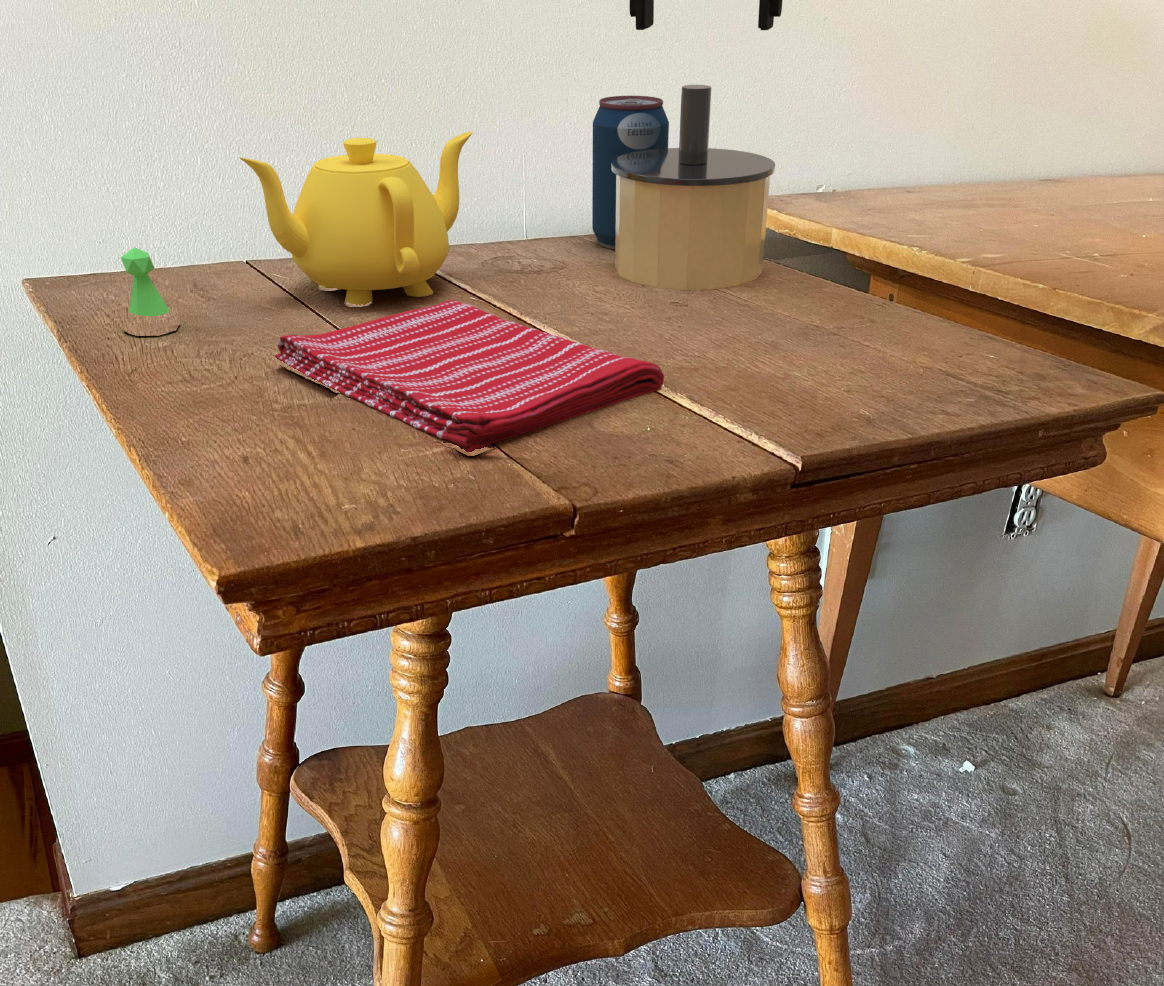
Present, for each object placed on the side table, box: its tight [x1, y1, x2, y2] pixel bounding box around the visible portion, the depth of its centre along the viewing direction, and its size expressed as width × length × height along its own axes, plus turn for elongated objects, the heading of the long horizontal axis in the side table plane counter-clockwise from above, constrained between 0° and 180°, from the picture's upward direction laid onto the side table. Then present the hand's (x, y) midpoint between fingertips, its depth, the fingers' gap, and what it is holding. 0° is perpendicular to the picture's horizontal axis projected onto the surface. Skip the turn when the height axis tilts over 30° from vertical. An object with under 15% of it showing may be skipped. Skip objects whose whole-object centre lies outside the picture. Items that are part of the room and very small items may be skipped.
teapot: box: [238, 131, 473, 305], centre depth 97 cm, size 20×15×12 cm
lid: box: [611, 84, 776, 186], centre depth 98 cm, size 14×14×7 cm
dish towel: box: [274, 299, 665, 452], centre depth 82 cm, size 17×24×3 cm
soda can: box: [591, 95, 670, 250], centre depth 110 cm, size 7×7×12 cm
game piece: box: [120, 247, 170, 316], centre depth 91 cm, size 4×4×6 cm
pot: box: [614, 175, 771, 291], centre depth 102 cm, size 13×13×8 cm
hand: (704, 28), depth 93 cm, fingers open, 9 cm apart
